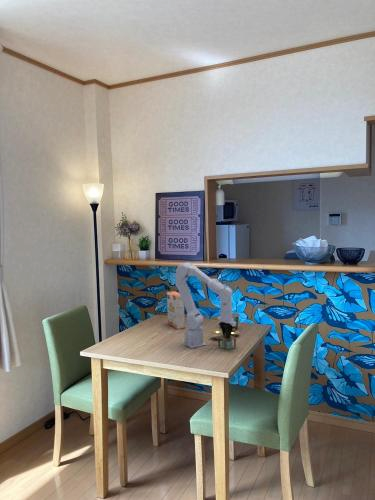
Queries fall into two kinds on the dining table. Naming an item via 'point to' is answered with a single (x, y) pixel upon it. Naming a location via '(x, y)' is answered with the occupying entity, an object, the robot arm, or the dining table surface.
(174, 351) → the dining table surface
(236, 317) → the food container
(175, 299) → the cracker box
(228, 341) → the block
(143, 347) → the dining table surface
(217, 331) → the balance
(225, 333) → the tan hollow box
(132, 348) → the dining table surface
